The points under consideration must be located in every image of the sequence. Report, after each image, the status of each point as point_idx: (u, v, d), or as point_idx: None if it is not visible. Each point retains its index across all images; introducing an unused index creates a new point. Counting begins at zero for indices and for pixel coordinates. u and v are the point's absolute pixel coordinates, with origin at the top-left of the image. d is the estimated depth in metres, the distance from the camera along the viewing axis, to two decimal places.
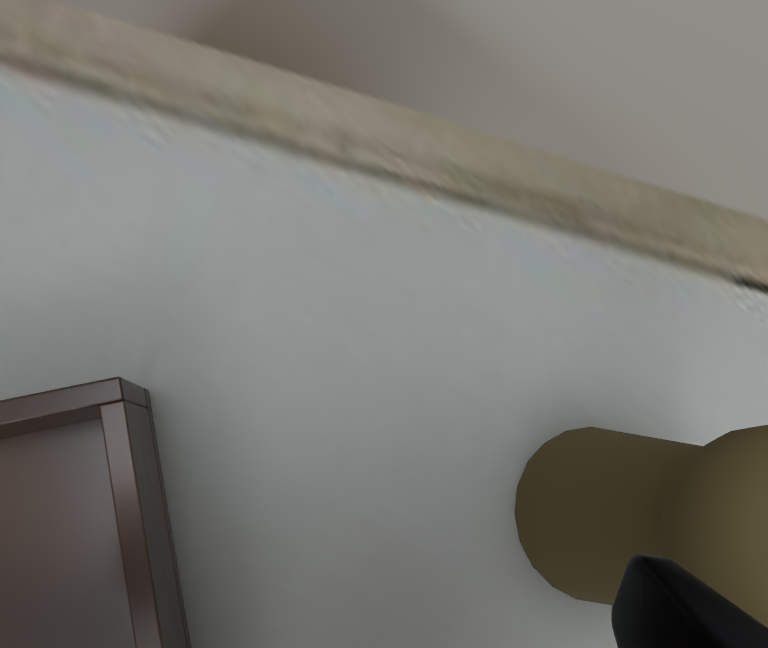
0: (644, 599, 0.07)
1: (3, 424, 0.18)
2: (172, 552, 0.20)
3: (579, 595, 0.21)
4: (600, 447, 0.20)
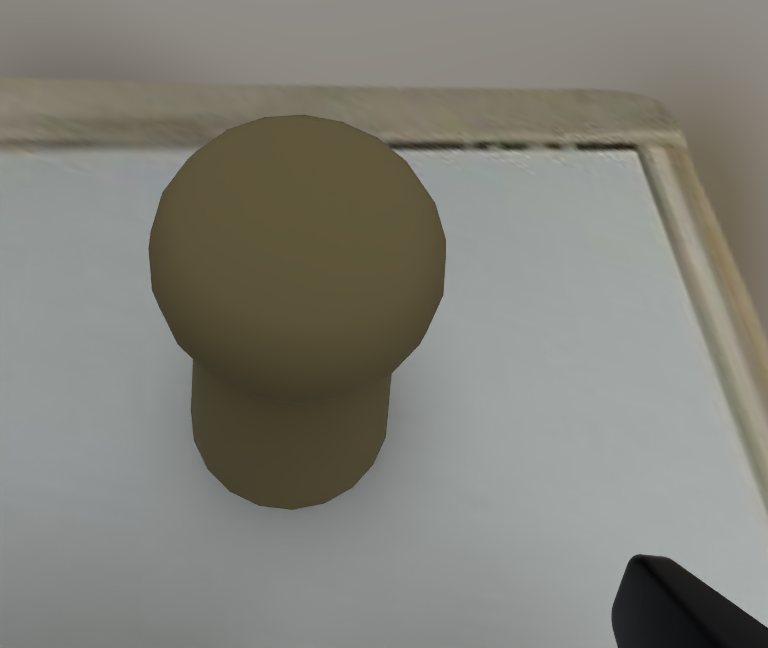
0: (644, 599, 0.07)
1: None
2: None
3: (277, 497, 0.18)
4: None
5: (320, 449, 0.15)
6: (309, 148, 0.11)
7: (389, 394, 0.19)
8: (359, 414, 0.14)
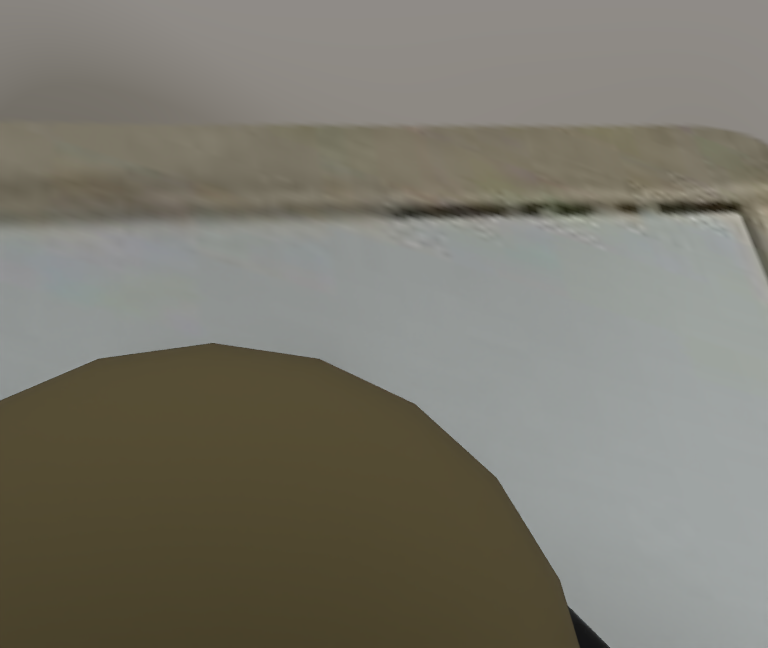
0: None
1: None
2: None
3: None
4: None
5: None
6: (198, 525, 0.03)
7: None
8: None
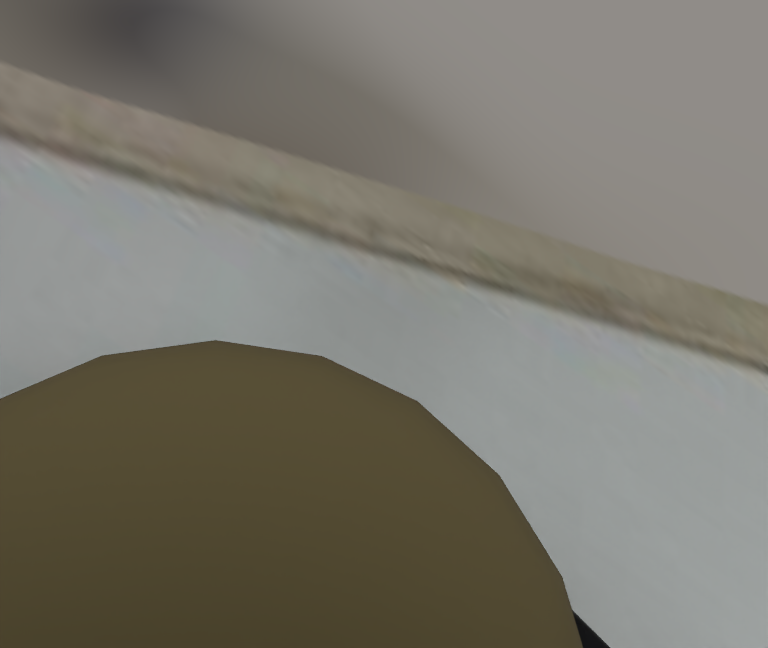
0: None
1: None
2: None
3: None
4: None
5: None
6: (201, 518, 0.03)
7: None
8: None
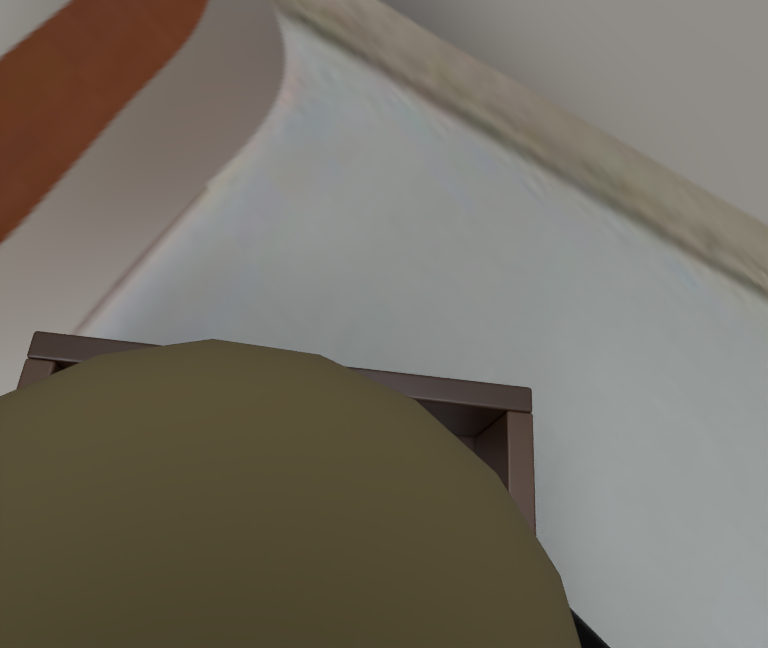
0: None
1: None
2: None
3: None
4: None
5: None
6: (199, 518, 0.03)
7: None
8: None
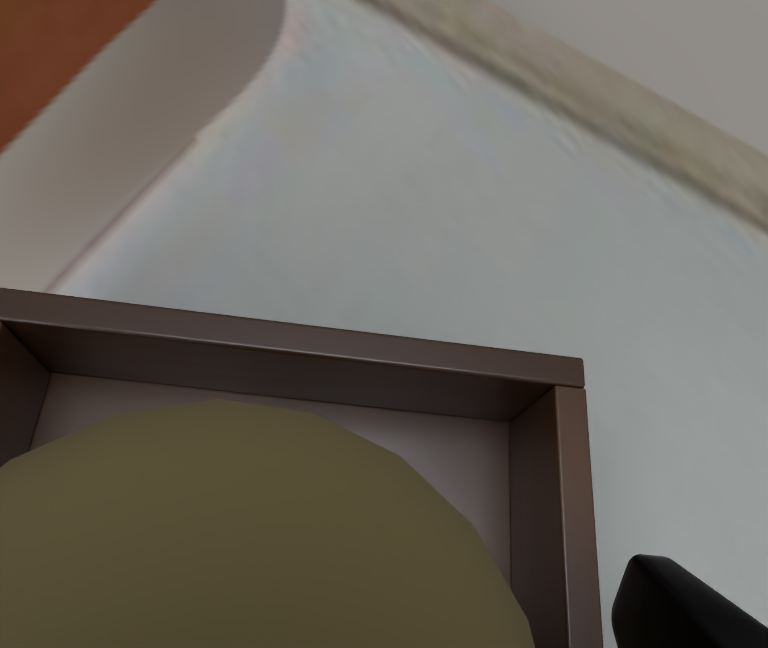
0: (644, 599, 0.07)
1: (436, 370, 0.13)
2: None
3: None
4: None
5: None
6: (203, 575, 0.04)
7: None
8: None
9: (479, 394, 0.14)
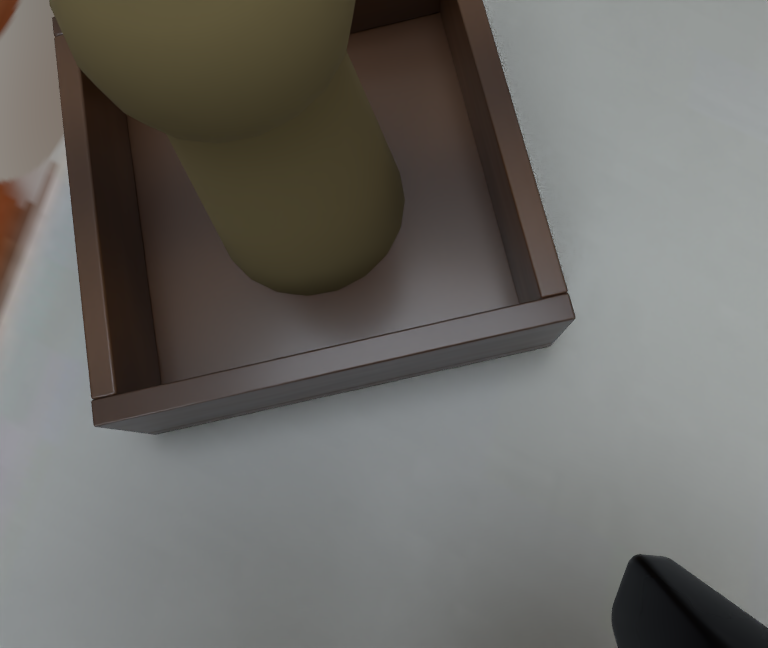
0: (644, 599, 0.07)
1: None
2: None
3: (317, 279, 0.19)
4: None
5: (323, 206, 0.15)
6: None
7: (389, 151, 0.18)
8: (342, 153, 0.14)
9: None
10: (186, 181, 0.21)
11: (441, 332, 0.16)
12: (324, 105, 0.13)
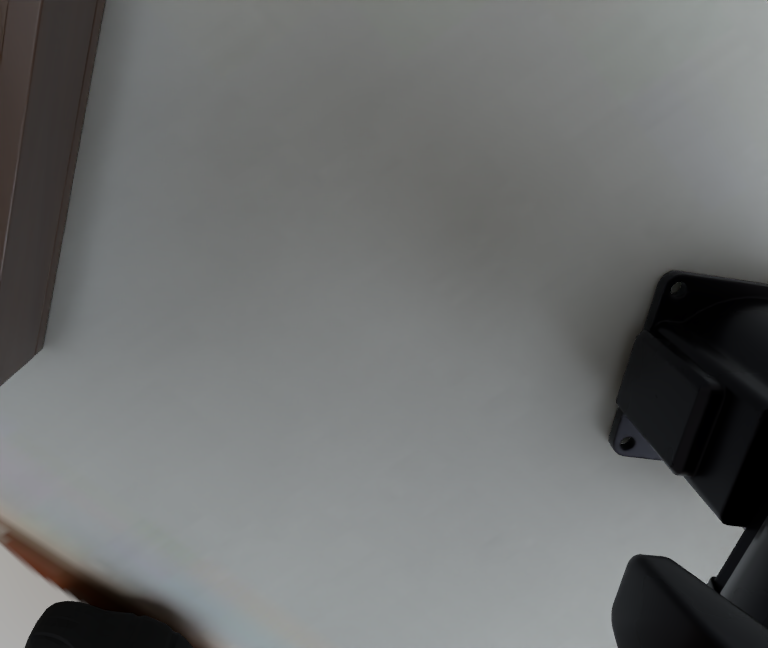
0: (644, 599, 0.07)
1: None
2: None
3: None
4: None
5: None
6: None
7: None
8: None
9: None
10: None
11: (16, 38, 0.14)
12: None
